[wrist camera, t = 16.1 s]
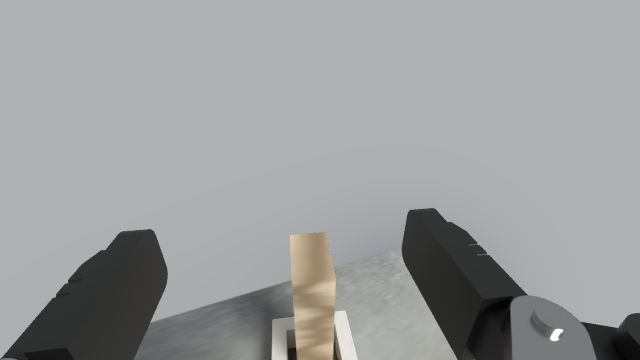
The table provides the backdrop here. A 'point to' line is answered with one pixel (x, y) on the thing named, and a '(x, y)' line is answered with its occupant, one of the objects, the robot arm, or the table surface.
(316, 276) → the wooden l-shaped block
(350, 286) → the table surface
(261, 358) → the table surface
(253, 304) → the table surface
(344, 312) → the square well
